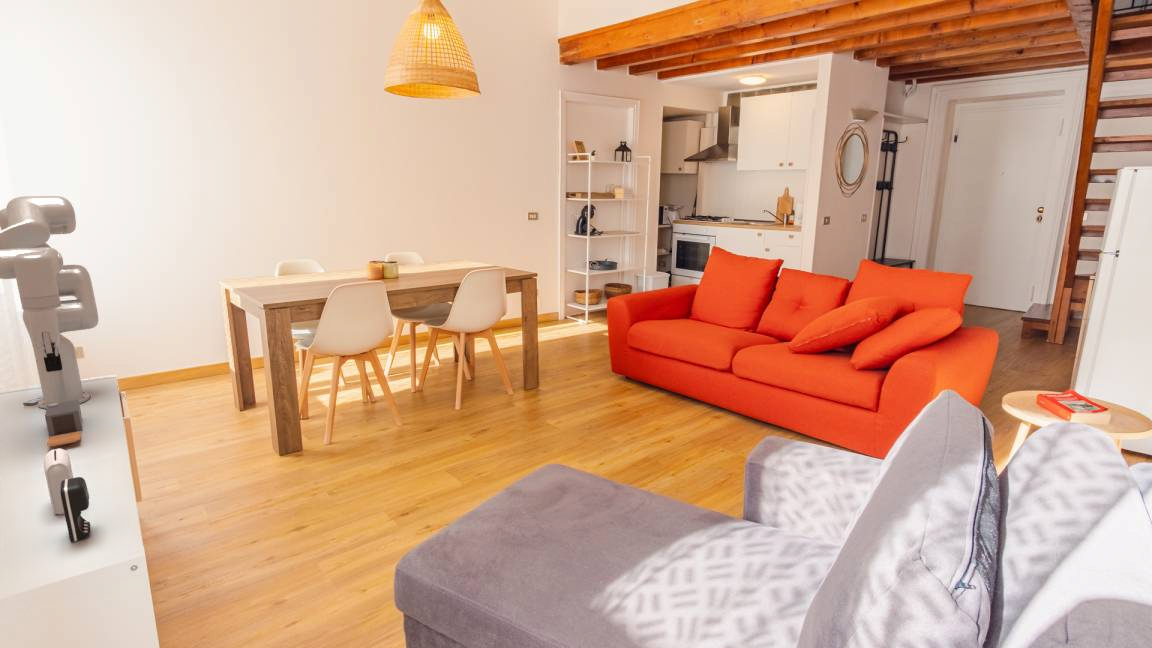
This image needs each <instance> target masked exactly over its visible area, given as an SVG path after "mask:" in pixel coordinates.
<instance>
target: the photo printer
mask: <svg viewBox="0 0 1152 648" xmlns="http://www.w3.org/2000/svg"><path fill="white" fill-rule="evenodd" d="M43 467H44V468H43V469H44V475H45V479H46V484H47V489H48V494H49V498H50V504H51V507H52V511H53V513H54V514H55V515H57V514H58V515H65V514H64V509H63V504H62V499H61V493H60V489H61V482H62V481H63V480H65V479H71V478H74V474H73V469H72V464H71V457H70V454H69V452H67V450H65V449H63V448H55V449H51V450H49V451H48V452H47V453H46V455H45V457H44V461H43Z"/></svg>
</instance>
